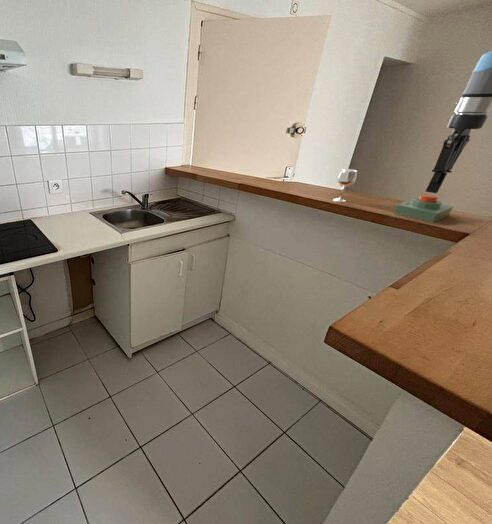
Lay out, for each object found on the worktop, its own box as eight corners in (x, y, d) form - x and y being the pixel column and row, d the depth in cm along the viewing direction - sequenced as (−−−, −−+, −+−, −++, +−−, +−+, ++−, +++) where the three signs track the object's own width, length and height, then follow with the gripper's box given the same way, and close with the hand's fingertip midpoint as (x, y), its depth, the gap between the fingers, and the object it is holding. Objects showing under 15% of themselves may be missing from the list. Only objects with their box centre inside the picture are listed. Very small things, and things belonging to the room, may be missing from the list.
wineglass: (335, 202, 112) (346, 171, 106) (328, 198, 117) (338, 168, 111) (350, 202, 112) (362, 171, 106) (342, 198, 117) (353, 168, 111)
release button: (421, 199, 100) (424, 193, 99) (437, 202, 97) (440, 196, 96) (416, 201, 98) (418, 195, 97) (432, 204, 95) (435, 198, 94)
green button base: (410, 207, 107) (416, 194, 104) (448, 215, 99) (456, 201, 96) (392, 213, 101) (399, 199, 98) (432, 222, 92) (440, 208, 90)
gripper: (461, 113, 90) (425, 187, 101) (445, 114, 84) (409, 192, 96) (495, 114, 84) (453, 192, 96) (481, 114, 79) (437, 197, 90)
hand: (431, 192), depth 96 cm, fingers closed
